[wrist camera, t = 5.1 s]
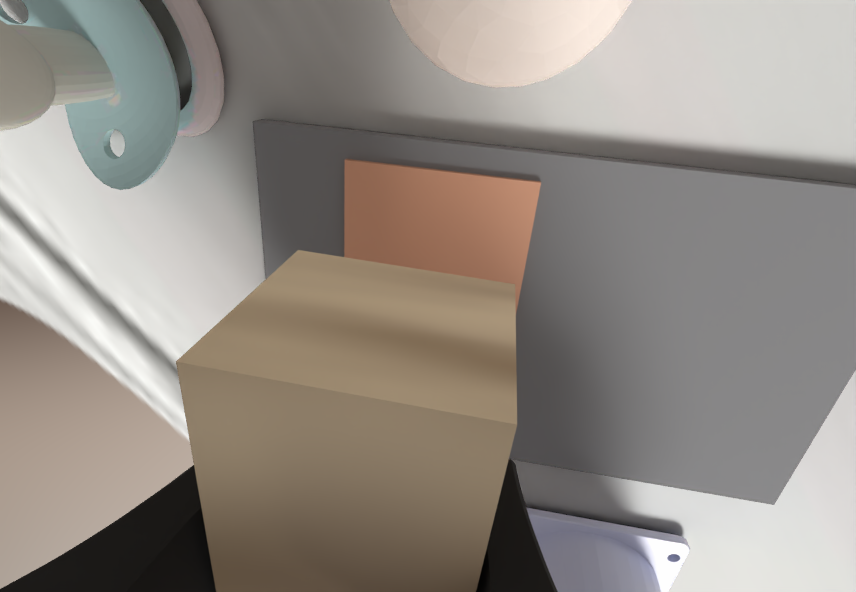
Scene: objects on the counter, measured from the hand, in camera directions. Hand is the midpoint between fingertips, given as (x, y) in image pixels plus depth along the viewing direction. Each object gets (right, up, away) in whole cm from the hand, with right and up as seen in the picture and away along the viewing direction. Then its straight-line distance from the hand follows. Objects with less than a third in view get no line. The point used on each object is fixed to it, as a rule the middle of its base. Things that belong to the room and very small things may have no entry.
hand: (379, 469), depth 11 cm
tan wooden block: (0, 0, +1) cm, 1 cm away
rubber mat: (+5, +3, +6) cm, 9 cm away
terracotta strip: (+1, +3, +6) cm, 7 cm away
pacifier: (-8, +12, +5) cm, 15 cm away
